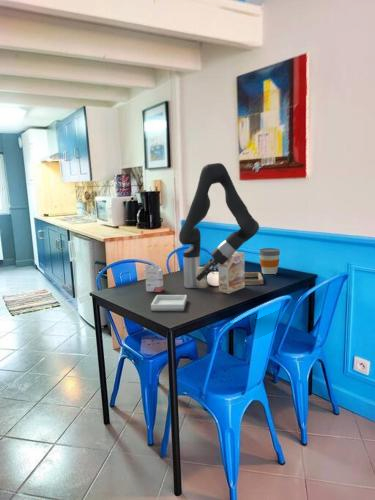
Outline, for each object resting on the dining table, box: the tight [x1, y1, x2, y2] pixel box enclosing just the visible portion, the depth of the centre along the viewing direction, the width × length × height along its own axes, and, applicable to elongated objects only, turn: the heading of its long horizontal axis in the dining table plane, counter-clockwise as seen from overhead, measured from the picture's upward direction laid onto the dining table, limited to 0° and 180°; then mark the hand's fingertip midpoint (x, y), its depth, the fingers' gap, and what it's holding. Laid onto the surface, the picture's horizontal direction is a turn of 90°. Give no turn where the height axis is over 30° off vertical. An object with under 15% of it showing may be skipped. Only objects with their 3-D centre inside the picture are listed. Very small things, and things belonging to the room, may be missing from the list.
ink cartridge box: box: [144, 264, 164, 293], centre depth 204 cm, size 9×5×15 cm, turn 70°
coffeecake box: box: [217, 251, 246, 295], centre depth 200 cm, size 15×7×20 cm, turn 137°
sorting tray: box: [150, 294, 188, 312], centre depth 178 cm, size 15×15×3 cm
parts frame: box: [245, 271, 264, 286], centre depth 219 cm, size 19×19×2 cm
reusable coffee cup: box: [258, 247, 281, 275], centre depth 233 cm, size 13×13×15 cm
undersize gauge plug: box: [197, 266, 208, 289], centre depth 173 cm, size 4×4×9 cm
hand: (198, 278), depth 173 cm, fingers closed on undersize gauge plug, 4 cm apart
